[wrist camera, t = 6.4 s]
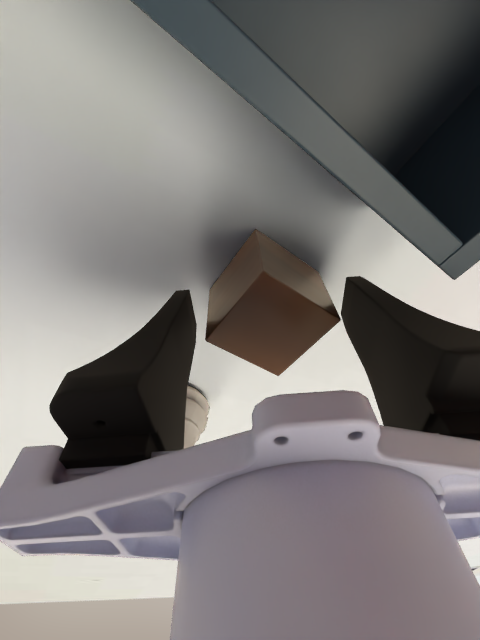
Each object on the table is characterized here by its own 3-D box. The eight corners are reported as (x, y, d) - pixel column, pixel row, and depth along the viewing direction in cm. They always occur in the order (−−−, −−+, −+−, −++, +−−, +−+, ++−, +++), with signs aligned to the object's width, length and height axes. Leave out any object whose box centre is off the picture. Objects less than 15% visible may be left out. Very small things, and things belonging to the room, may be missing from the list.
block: (269, 323, 18) (278, 376, 15) (209, 289, 16) (204, 340, 13) (318, 271, 16) (341, 320, 13) (255, 227, 14) (263, 270, 11)
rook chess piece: (173, 370, 20) (146, 507, 13) (223, 401, 22) (221, 533, 16) (131, 402, 22) (91, 536, 15) (181, 428, 24) (164, 556, 17)
